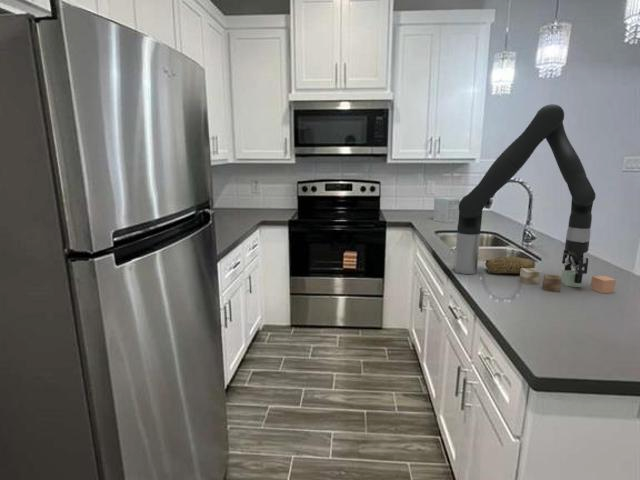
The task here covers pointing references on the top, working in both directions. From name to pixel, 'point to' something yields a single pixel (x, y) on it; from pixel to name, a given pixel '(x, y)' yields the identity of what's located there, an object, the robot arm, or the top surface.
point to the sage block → (569, 278)
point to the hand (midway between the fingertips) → (572, 279)
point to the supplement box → (446, 209)
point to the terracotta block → (602, 284)
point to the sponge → (508, 265)
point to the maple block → (529, 276)
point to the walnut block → (551, 283)
